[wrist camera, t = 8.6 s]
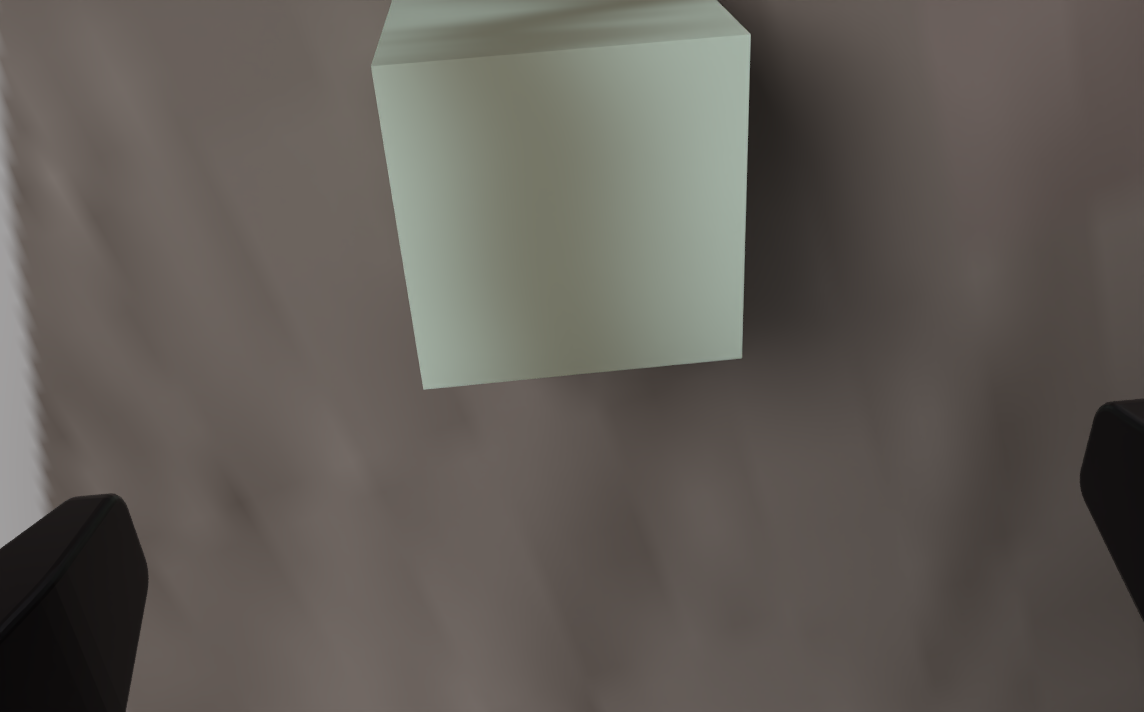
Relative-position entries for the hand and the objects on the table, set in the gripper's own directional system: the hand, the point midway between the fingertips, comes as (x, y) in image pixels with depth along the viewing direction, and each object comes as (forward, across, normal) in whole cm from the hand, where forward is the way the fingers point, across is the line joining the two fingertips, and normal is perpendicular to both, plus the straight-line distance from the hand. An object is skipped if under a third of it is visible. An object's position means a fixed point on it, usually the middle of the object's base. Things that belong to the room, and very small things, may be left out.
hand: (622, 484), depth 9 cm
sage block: (+11, 0, 0) cm, 11 cm away
